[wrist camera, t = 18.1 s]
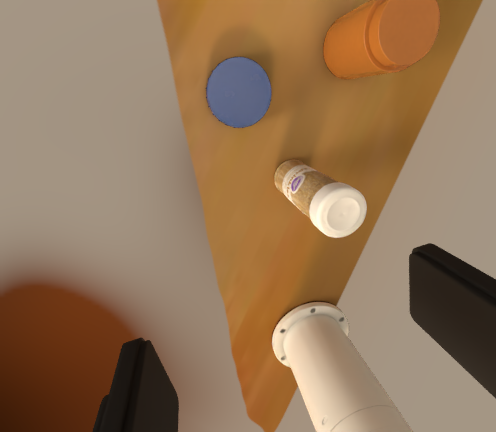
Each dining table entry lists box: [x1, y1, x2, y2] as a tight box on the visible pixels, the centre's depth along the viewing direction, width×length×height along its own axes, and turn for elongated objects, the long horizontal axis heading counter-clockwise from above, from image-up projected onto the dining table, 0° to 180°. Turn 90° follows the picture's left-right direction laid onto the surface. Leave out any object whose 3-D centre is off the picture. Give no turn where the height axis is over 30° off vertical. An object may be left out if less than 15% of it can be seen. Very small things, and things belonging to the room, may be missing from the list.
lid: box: [206, 57, 271, 128], centre depth 31 cm, size 7×7×2 cm
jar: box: [323, 0, 440, 79], centre depth 28 cm, size 6×6×9 cm
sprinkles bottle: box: [274, 160, 367, 238], centre depth 30 cm, size 5×5×13 cm
